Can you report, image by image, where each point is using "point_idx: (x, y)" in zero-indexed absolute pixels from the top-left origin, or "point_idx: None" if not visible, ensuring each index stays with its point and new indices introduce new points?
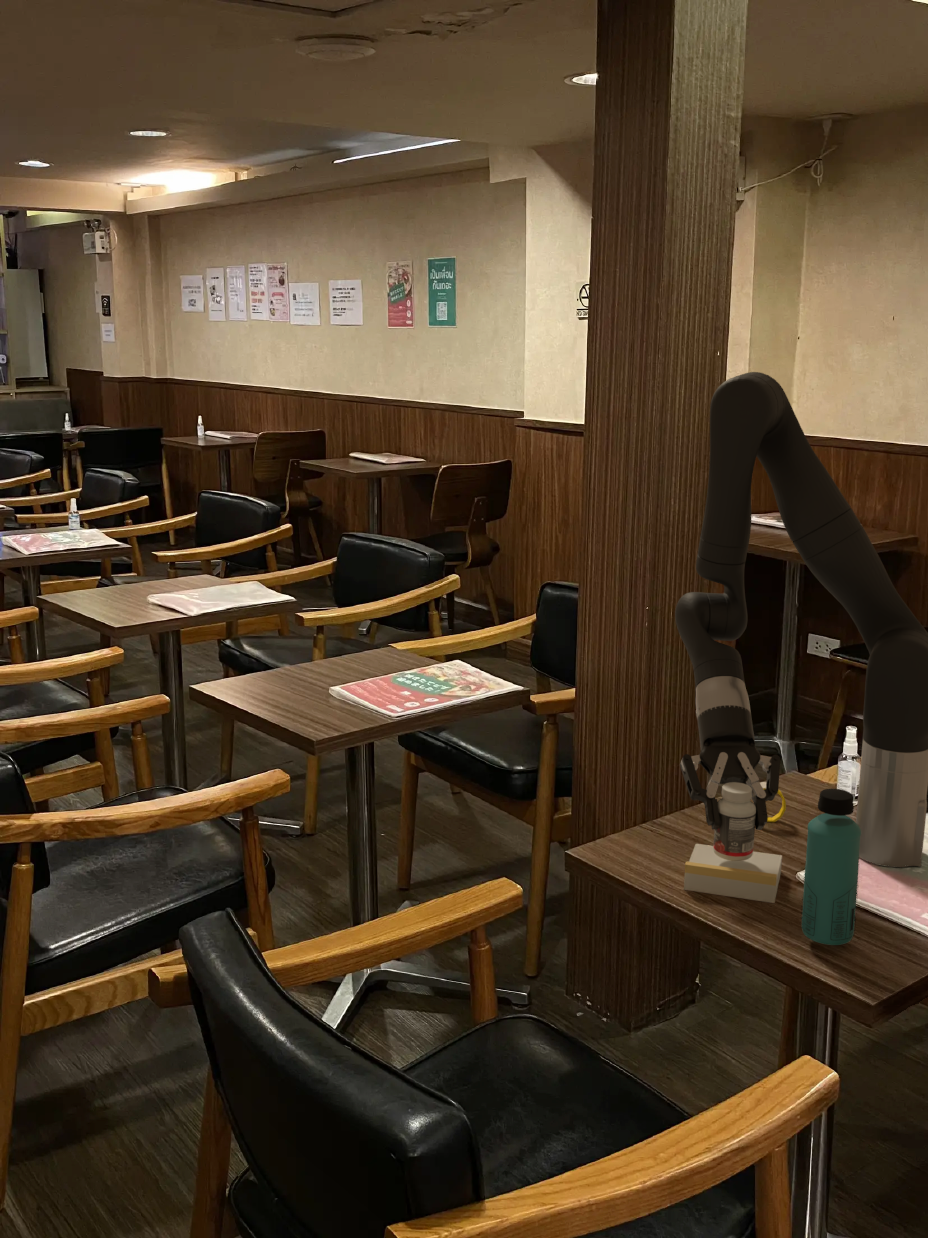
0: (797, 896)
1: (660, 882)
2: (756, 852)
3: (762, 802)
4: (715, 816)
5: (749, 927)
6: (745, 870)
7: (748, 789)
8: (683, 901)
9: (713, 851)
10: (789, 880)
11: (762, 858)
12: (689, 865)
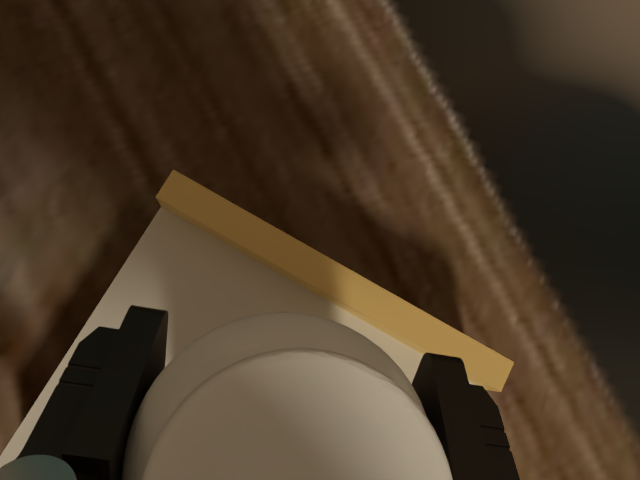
0: (70, 237)
1: (535, 436)
2: None
3: (51, 453)
4: (461, 390)
5: (341, 68)
6: (275, 259)
7: (196, 442)
8: (494, 275)
9: None
10: (28, 374)
11: None
12: (496, 353)
